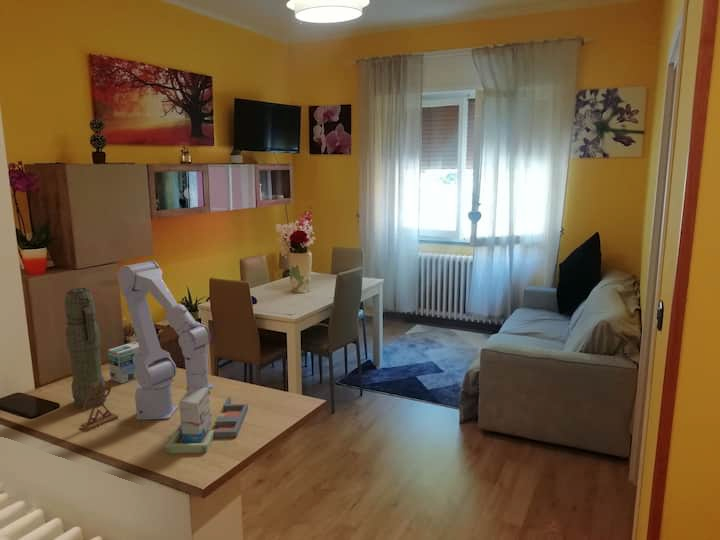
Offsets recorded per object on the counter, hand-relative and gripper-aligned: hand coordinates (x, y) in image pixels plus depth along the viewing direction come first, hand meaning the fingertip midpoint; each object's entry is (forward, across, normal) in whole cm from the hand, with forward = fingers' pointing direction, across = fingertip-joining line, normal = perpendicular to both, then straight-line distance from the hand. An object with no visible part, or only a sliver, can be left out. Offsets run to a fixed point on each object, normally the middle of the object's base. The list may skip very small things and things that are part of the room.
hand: (200, 417), depth 146 cm
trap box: (+3, +1, -3) cm, 4 cm away
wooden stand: (+3, +4, +29) cm, 29 cm away
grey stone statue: (+3, +18, +38) cm, 42 cm away
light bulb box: (+3, +38, +34) cm, 51 cm away
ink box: (+2, -5, 0) cm, 6 cm away
